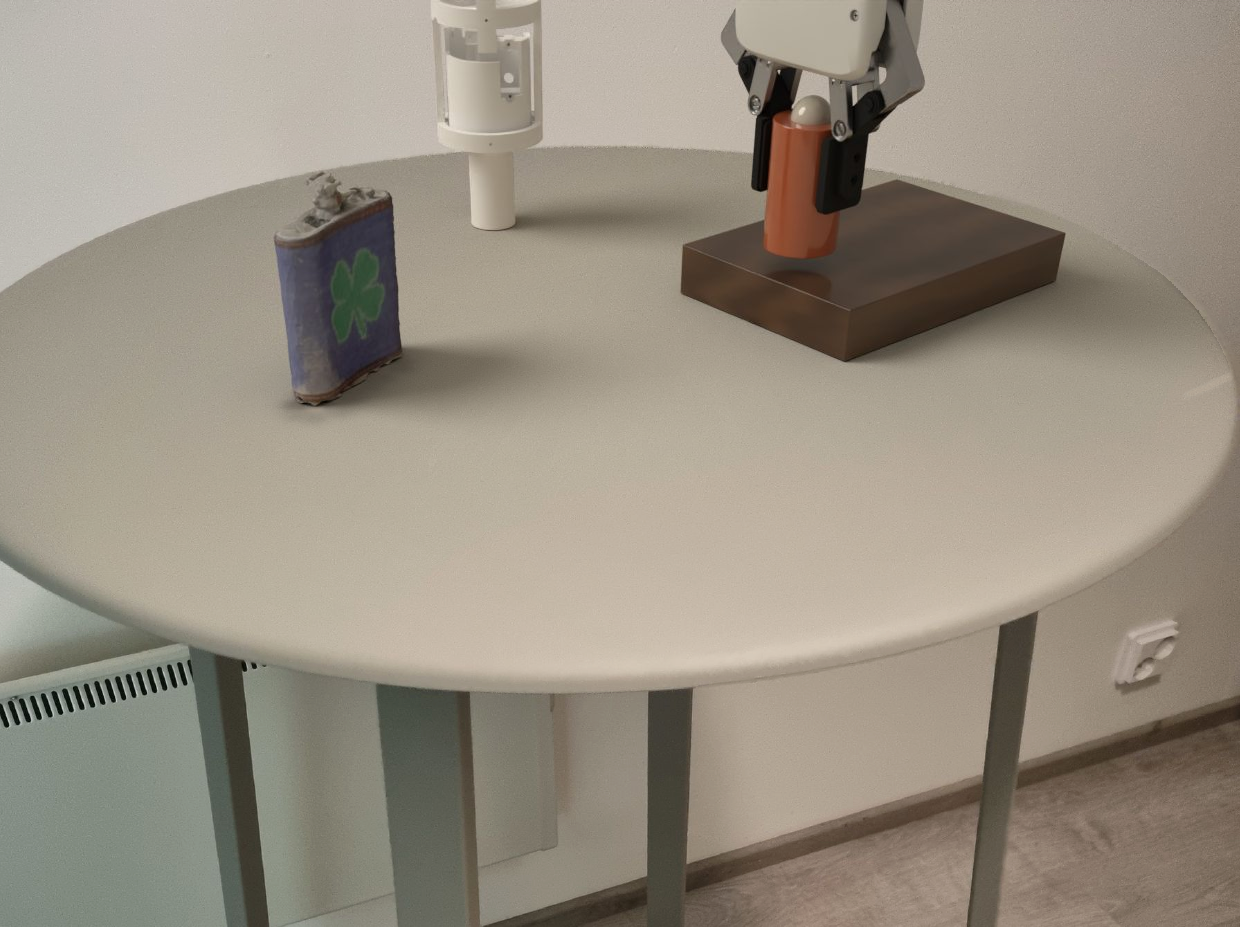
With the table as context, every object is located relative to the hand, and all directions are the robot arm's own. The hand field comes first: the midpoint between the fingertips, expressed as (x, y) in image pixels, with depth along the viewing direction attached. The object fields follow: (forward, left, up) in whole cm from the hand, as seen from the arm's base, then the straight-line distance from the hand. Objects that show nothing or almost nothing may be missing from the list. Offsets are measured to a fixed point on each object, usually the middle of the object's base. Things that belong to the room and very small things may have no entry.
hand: (805, 194), depth 88 cm
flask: (+10, +26, -7) cm, 29 cm away
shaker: (0, 0, -3) cm, 3 cm away
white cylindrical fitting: (+25, +4, -7) cm, 26 cm away
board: (0, -7, -7) cm, 10 cm away
